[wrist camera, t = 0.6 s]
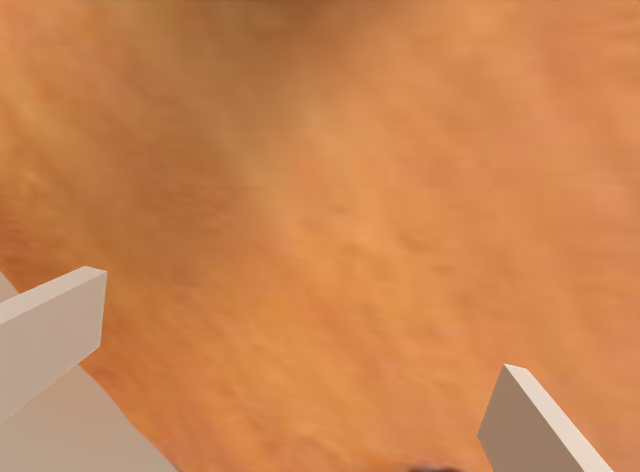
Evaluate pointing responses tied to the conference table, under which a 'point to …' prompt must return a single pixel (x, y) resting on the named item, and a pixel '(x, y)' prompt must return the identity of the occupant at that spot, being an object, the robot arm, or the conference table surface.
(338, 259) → the conference table surface
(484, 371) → the conference table surface
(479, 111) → the conference table surface
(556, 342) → the conference table surface
